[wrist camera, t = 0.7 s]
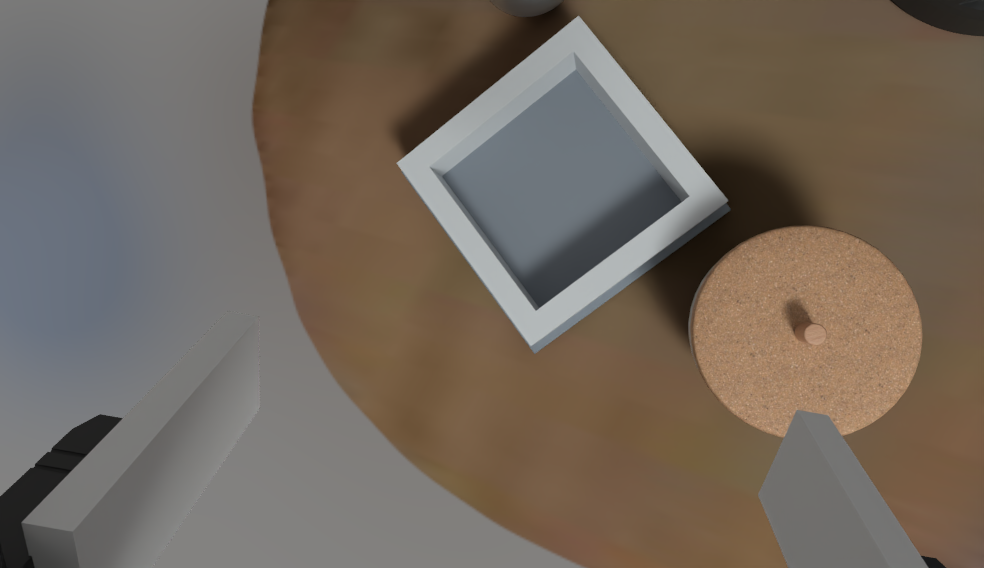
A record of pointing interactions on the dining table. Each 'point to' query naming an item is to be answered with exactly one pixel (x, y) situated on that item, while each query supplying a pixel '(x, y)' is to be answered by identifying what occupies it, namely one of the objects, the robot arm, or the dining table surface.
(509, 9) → the plastic bottle
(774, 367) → the lidded jar
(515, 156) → the light grey square tray
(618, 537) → the dining table surface
